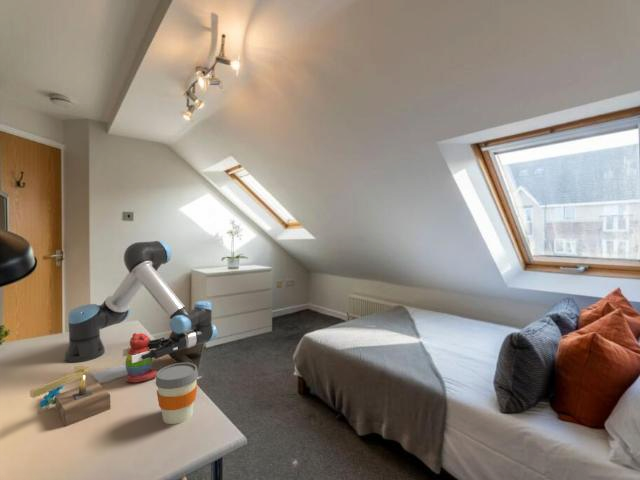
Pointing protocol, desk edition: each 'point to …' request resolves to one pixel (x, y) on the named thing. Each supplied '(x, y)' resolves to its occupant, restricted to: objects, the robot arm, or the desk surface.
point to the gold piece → (64, 382)
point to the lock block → (82, 403)
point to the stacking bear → (140, 368)
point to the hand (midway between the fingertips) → (127, 356)
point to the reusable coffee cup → (177, 391)
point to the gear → (51, 396)
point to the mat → (110, 374)
